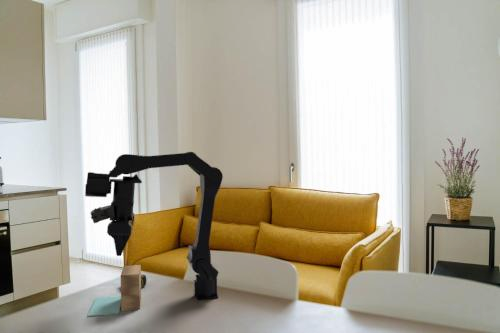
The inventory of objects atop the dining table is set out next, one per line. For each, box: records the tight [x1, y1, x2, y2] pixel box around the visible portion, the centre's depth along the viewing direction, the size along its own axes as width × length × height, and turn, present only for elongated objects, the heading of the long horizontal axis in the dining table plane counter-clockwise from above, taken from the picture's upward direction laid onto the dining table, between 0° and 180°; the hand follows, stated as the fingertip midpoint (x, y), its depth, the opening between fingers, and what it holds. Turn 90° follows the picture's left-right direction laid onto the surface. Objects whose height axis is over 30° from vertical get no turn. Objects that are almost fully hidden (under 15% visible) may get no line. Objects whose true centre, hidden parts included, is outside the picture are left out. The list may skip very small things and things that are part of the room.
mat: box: [87, 295, 121, 318], centre depth 117 cm, size 8×14×1 cm, turn 13°
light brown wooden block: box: [120, 264, 142, 312], centre depth 118 cm, size 5×10×10 cm, turn 13°
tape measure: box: [141, 274, 147, 288], centre depth 134 cm, size 7×7×4 cm
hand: (120, 250), depth 117 cm, fingers open, 9 cm apart
